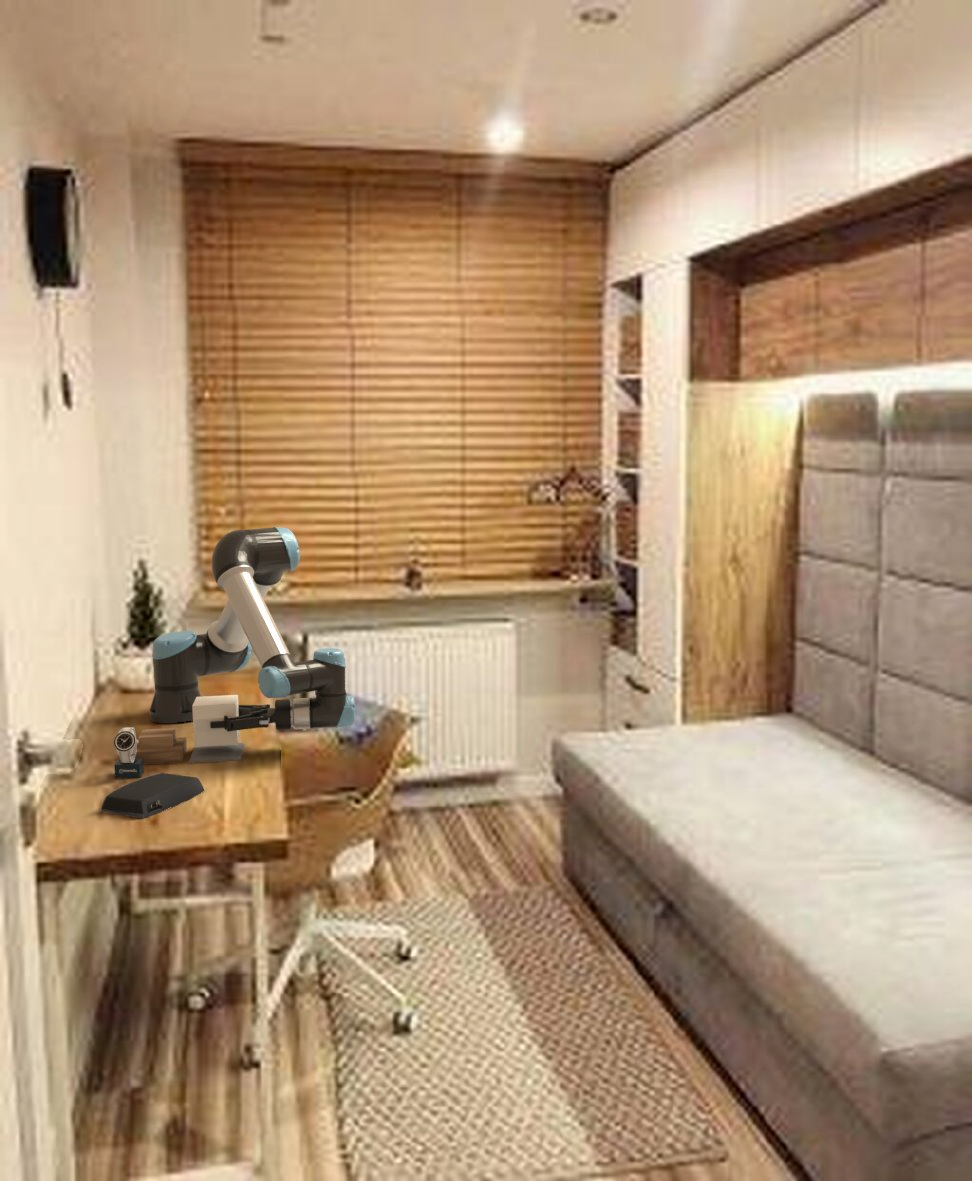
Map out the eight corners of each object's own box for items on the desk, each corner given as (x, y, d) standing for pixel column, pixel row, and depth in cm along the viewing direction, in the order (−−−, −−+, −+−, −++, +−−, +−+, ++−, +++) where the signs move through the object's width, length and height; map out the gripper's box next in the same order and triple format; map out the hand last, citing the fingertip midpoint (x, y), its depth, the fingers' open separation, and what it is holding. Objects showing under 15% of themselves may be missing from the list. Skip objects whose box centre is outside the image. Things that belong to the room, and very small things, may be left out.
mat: (195, 747, 278) (195, 745, 278) (244, 744, 280) (244, 742, 280) (189, 763, 264) (189, 760, 264) (241, 760, 266) (241, 757, 266)
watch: (112, 780, 251) (110, 733, 250) (121, 770, 259) (118, 724, 258) (138, 780, 251) (135, 732, 250) (146, 769, 259) (143, 723, 258)
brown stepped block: (136, 751, 275) (135, 727, 274) (186, 748, 277) (185, 725, 276) (129, 765, 263) (127, 740, 262) (181, 762, 265) (180, 737, 264)
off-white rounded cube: (198, 736, 276) (196, 696, 274) (239, 734, 277) (237, 694, 276) (194, 747, 266) (192, 705, 265) (237, 744, 267) (235, 703, 266)
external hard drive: (96, 813, 230) (95, 794, 230) (160, 786, 248) (159, 768, 247) (146, 821, 225) (145, 801, 224) (207, 793, 242) (206, 775, 242)
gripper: (291, 741, 263) (194, 746, 260) (292, 718, 285) (203, 723, 282) (290, 709, 262) (192, 715, 259) (291, 689, 284) (202, 694, 281)
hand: (198, 719), depth 270 cm, fingers closed on off-white rounded cube, 10 cm apart
